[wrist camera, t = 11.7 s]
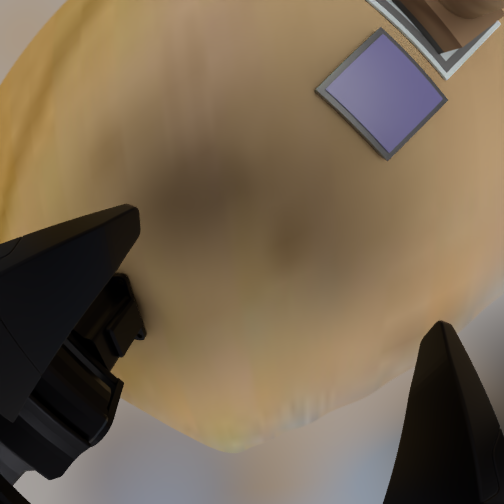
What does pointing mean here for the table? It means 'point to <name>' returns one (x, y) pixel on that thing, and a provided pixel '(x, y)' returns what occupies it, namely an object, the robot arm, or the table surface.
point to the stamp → (451, 20)
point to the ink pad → (382, 93)
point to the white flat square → (441, 62)
